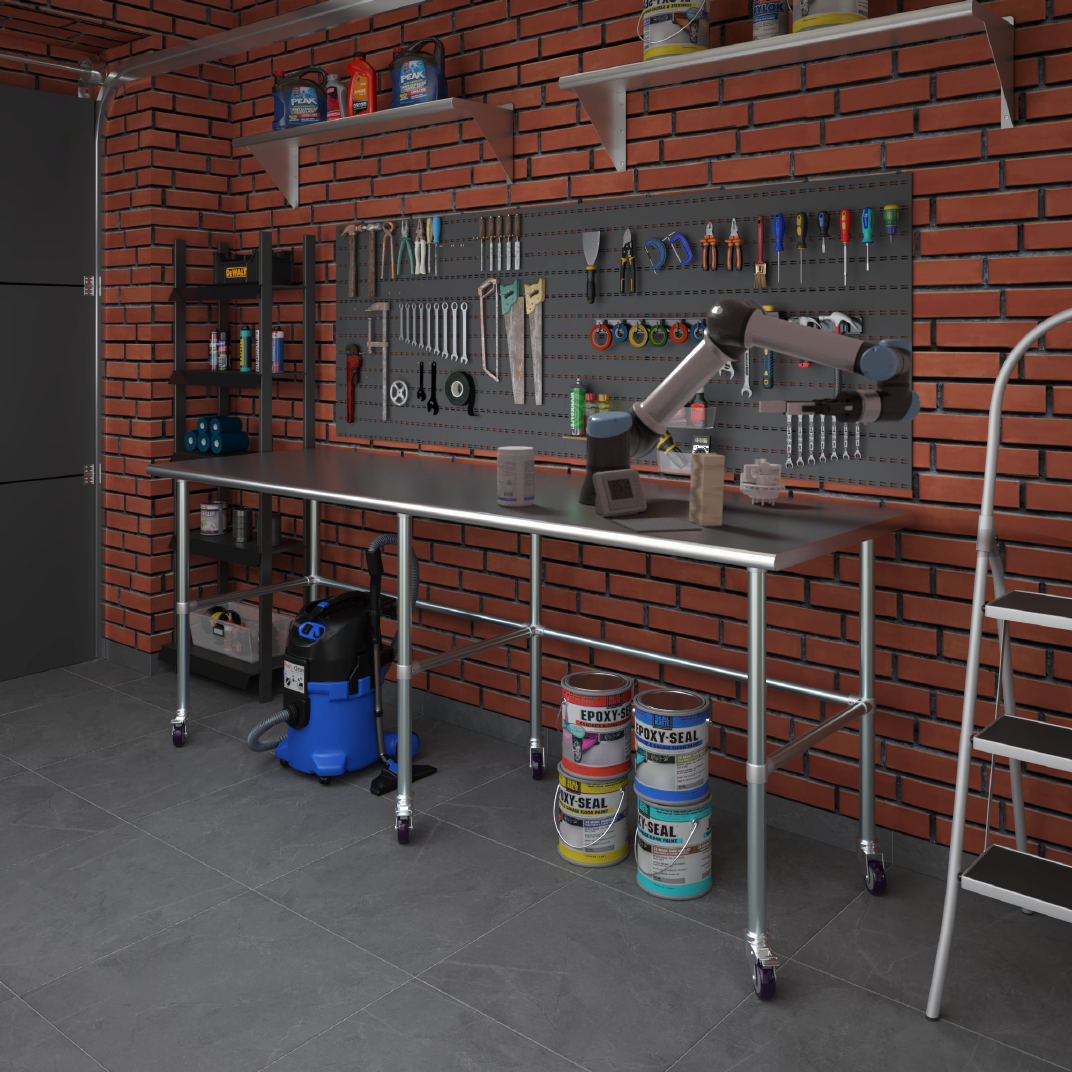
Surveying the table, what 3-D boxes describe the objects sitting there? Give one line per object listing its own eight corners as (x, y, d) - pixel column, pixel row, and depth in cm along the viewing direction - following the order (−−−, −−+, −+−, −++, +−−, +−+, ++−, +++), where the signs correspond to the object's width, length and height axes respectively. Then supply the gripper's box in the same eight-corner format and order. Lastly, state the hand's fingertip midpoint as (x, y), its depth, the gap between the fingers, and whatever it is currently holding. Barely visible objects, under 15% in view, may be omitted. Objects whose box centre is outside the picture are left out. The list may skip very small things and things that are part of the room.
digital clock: (603, 518, 246) (604, 474, 244) (580, 514, 253) (581, 470, 251) (656, 513, 255) (657, 470, 253) (632, 509, 262) (633, 467, 260)
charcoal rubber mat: (611, 521, 241) (611, 519, 241) (673, 519, 246) (673, 517, 246) (636, 532, 226) (636, 530, 226) (701, 530, 231) (702, 528, 230)
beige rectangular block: (688, 522, 242) (691, 453, 239) (708, 521, 243) (711, 453, 241) (701, 526, 235) (704, 456, 233) (721, 526, 237) (724, 456, 234)
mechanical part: (757, 507, 267) (759, 461, 265) (732, 501, 278) (734, 457, 276) (793, 506, 271) (796, 460, 269) (767, 500, 282) (769, 456, 280)
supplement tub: (526, 501, 273) (527, 445, 270) (539, 506, 264) (540, 448, 262) (491, 503, 270) (492, 446, 267) (503, 508, 261) (504, 449, 258)
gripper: (885, 425, 233) (799, 426, 228) (827, 420, 257) (748, 421, 251) (886, 391, 232) (800, 392, 226) (828, 389, 255) (749, 390, 250)
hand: (773, 407), depth 239 cm, fingers open, 13 cm apart
